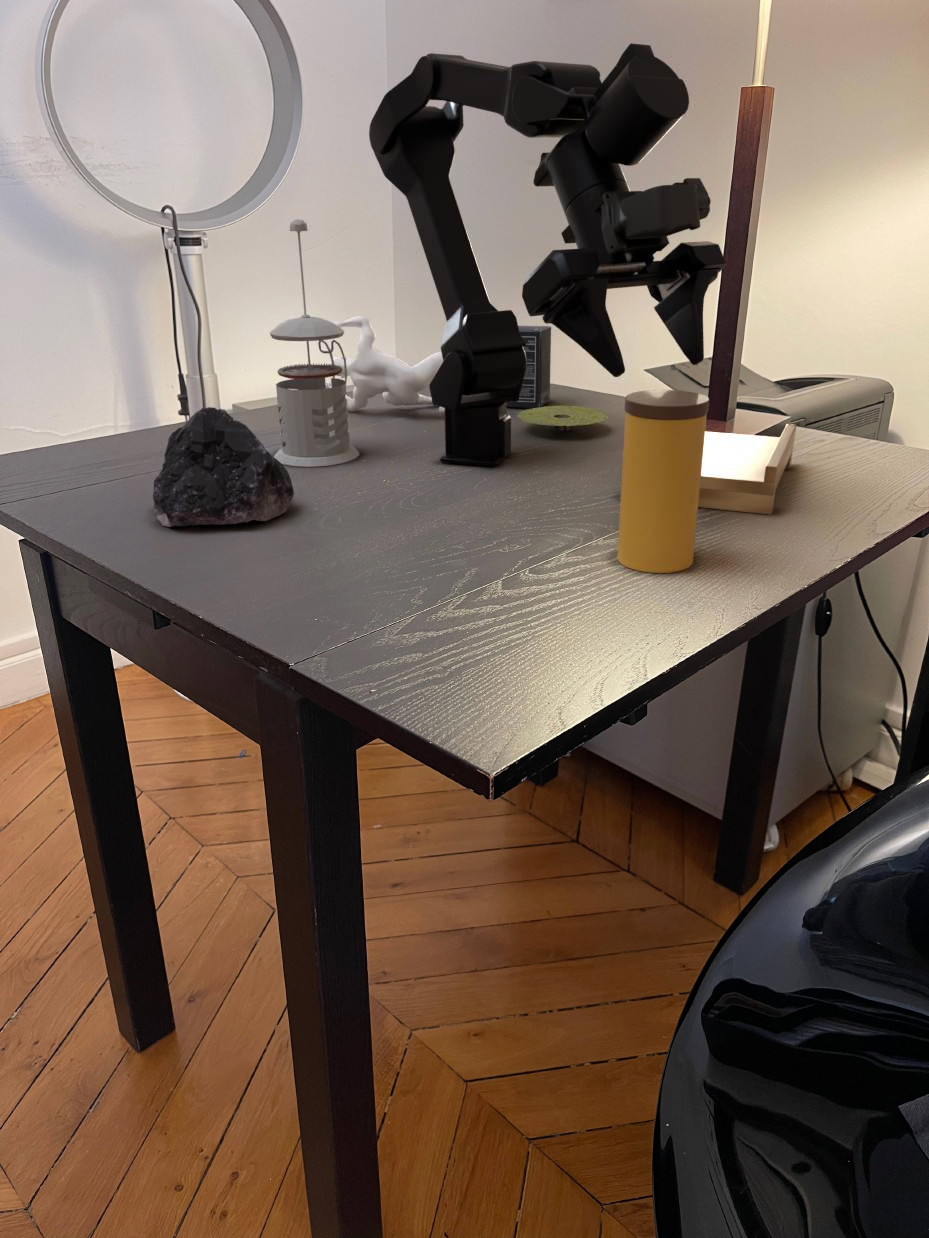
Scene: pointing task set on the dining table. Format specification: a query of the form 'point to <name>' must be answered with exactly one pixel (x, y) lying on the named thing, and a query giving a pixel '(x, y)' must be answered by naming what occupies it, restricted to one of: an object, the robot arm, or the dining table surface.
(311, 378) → the french press
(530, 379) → the small box
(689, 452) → the tea tin
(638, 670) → the dining table surface
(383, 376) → the white curved figure
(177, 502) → the crystal cluster
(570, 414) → the green disc
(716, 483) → the oak shelf
